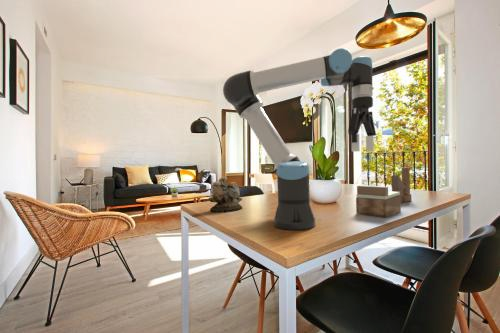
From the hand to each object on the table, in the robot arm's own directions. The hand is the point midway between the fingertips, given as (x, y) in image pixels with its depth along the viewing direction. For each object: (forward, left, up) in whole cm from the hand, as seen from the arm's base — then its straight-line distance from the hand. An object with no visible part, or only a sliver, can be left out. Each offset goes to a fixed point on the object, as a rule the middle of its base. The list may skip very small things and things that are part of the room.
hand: (363, 151), depth 101 cm
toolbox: (0, +14, -27) cm, 30 cm away
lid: (0, +14, -19) cm, 24 cm away
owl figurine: (-60, -24, -27) cm, 70 cm away
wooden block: (-1, +48, -27) cm, 55 cm away
